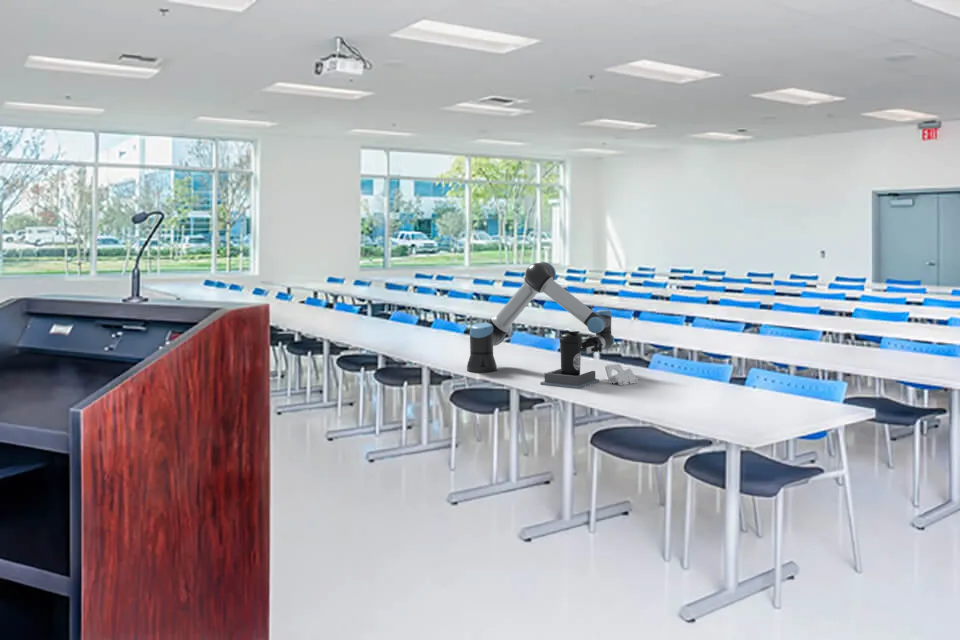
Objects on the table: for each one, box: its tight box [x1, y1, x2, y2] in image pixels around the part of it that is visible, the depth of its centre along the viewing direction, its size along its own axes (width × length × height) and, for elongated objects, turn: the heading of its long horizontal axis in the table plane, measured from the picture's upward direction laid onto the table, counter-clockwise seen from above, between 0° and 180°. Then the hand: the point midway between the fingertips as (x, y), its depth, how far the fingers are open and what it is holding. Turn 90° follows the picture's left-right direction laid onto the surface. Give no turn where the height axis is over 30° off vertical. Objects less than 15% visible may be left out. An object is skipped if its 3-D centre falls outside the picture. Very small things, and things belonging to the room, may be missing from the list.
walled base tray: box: [539, 368, 600, 389], centre depth 369 cm, size 20×20×5 cm
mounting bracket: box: [605, 363, 639, 386], centre depth 366 cm, size 12×6×11 cm, turn 122°
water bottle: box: [559, 329, 583, 376], centre depth 368 cm, size 10×10×23 cm
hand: (573, 349), depth 370 cm, fingers open, 13 cm apart
